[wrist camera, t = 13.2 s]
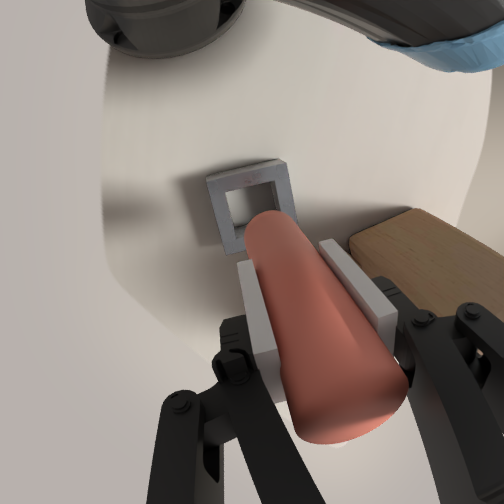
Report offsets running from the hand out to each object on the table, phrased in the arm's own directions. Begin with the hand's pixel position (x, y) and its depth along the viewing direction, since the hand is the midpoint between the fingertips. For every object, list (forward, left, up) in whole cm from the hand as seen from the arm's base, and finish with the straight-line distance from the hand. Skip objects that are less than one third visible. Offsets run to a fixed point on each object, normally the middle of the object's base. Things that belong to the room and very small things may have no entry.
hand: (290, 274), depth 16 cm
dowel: (0, 0, -5) cm, 5 cm away
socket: (0, 0, -16) cm, 16 cm away
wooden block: (+10, +14, -16) cm, 24 cm away
